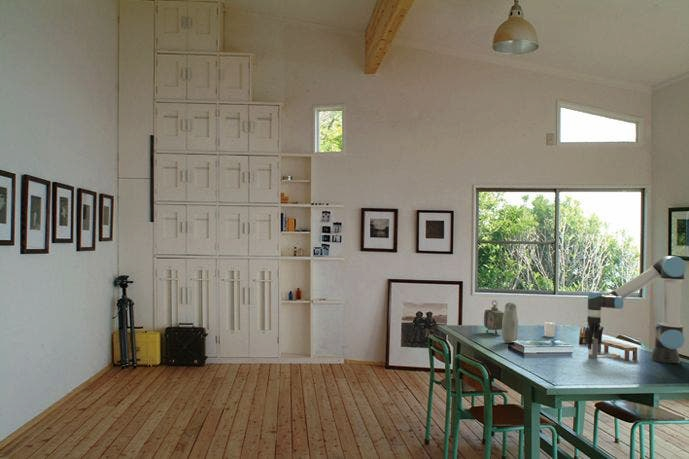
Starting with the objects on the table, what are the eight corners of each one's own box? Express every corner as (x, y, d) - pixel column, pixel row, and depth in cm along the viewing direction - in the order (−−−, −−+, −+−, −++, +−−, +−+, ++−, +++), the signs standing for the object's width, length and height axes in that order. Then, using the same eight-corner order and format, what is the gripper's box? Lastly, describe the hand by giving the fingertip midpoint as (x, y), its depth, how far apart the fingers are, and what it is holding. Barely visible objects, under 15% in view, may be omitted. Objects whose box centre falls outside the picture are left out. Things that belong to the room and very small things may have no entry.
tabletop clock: (483, 332, 395) (484, 299, 395) (493, 331, 398) (494, 299, 398) (494, 335, 381) (495, 301, 381) (505, 335, 384) (506, 301, 384)
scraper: (594, 358, 316) (595, 339, 316) (587, 356, 322) (587, 337, 322) (617, 357, 322) (618, 338, 322) (609, 355, 327) (610, 336, 328)
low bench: (637, 360, 315) (637, 347, 315) (626, 361, 313) (627, 347, 313) (606, 351, 338) (606, 339, 338) (596, 352, 335) (596, 339, 335)
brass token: (622, 357, 324) (622, 355, 324) (616, 357, 323) (616, 355, 323) (616, 355, 328) (616, 353, 328) (611, 355, 327) (611, 353, 327)
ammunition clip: (594, 344, 361) (594, 327, 361) (595, 345, 359) (596, 327, 359) (578, 343, 362) (579, 326, 362) (579, 344, 360) (580, 327, 360)
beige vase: (498, 342, 358) (500, 301, 358) (510, 341, 361) (512, 301, 362) (508, 345, 349) (509, 303, 349) (520, 344, 352) (521, 303, 352)
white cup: (552, 335, 391) (552, 322, 391) (557, 337, 383) (557, 323, 383) (542, 335, 391) (542, 321, 391) (546, 337, 383) (546, 323, 383)
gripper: (599, 315, 326) (598, 352, 326) (579, 315, 321) (577, 353, 321) (609, 317, 319) (607, 355, 318) (588, 317, 314) (587, 356, 313)
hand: (592, 354), depth 320 cm, fingers closed on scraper, 3 cm apart
